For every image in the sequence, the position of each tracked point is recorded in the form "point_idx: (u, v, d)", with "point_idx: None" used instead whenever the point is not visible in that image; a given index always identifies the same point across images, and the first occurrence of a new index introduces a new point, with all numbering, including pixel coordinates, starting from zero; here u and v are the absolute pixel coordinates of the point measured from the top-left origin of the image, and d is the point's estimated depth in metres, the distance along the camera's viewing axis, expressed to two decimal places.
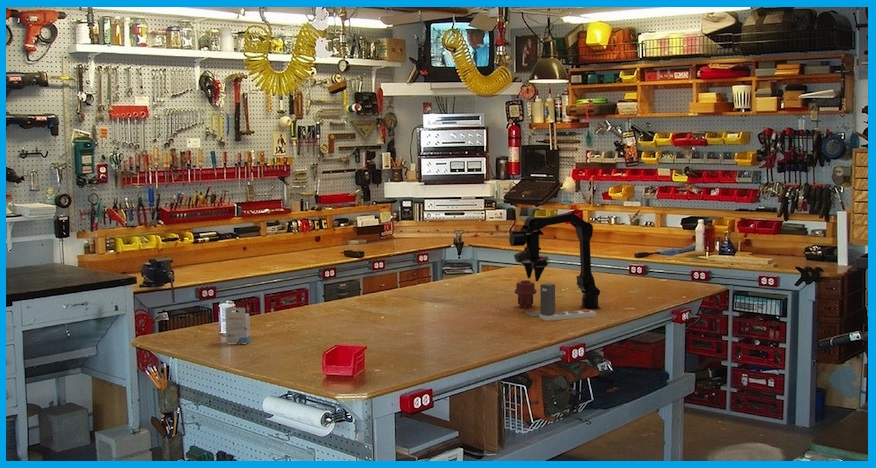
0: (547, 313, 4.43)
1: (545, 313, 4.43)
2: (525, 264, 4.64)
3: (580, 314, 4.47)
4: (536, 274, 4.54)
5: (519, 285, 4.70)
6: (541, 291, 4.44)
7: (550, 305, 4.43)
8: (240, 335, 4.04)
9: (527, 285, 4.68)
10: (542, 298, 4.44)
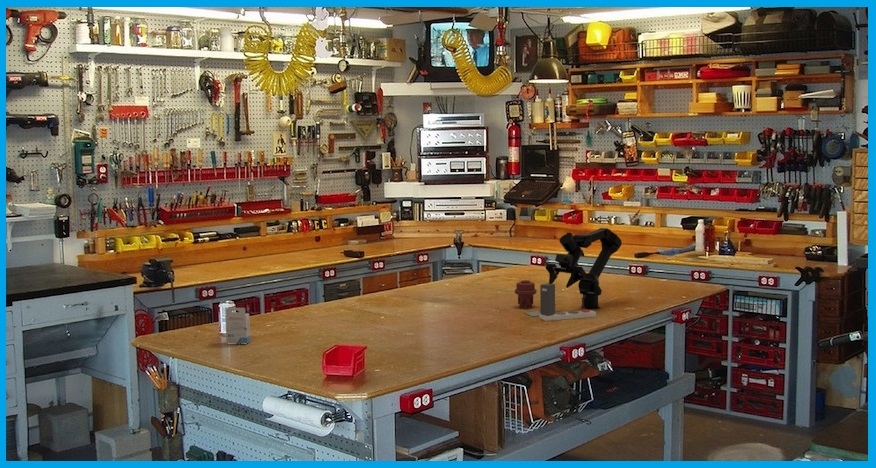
0: (547, 313, 4.43)
1: (545, 313, 4.43)
2: (553, 271, 4.55)
3: (580, 314, 4.47)
4: (571, 280, 4.48)
5: (519, 285, 4.70)
6: (541, 291, 4.44)
7: (550, 305, 4.43)
8: (240, 335, 4.04)
9: (527, 285, 4.68)
10: (542, 298, 4.44)
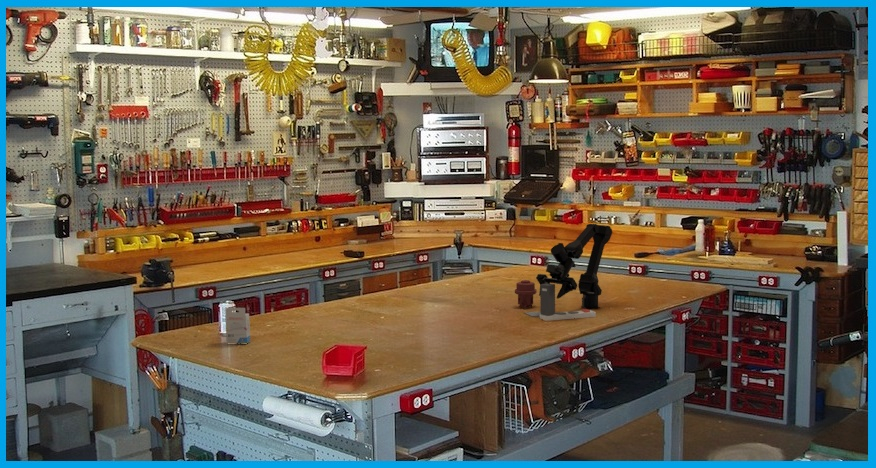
0: (547, 313, 4.43)
1: (545, 313, 4.43)
2: (543, 282, 4.50)
3: (580, 314, 4.47)
4: (562, 291, 4.43)
5: (519, 285, 4.70)
6: (541, 291, 4.44)
7: (550, 305, 4.43)
8: (240, 335, 4.04)
9: (527, 285, 4.68)
10: (542, 298, 4.44)
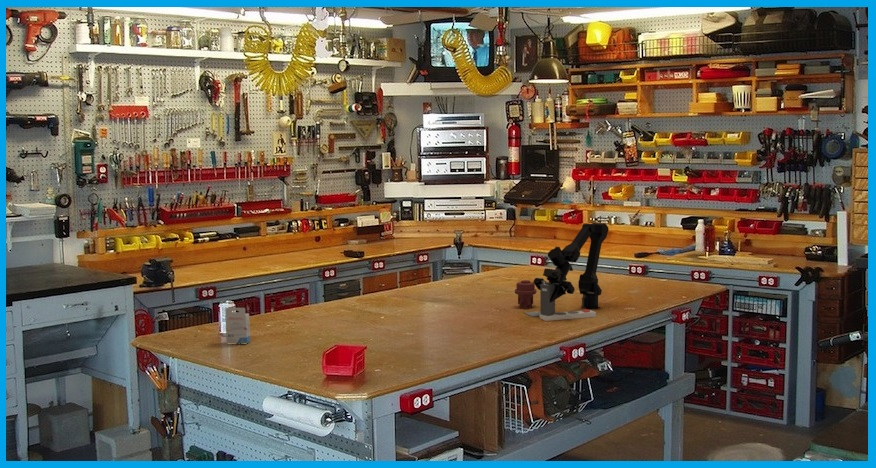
0: (547, 313, 4.43)
1: (545, 313, 4.43)
2: None
3: (580, 314, 4.47)
4: (555, 295, 4.43)
5: (519, 285, 4.70)
6: (541, 291, 4.44)
7: (550, 305, 4.43)
8: (240, 335, 4.04)
9: (527, 285, 4.68)
10: (542, 298, 4.44)
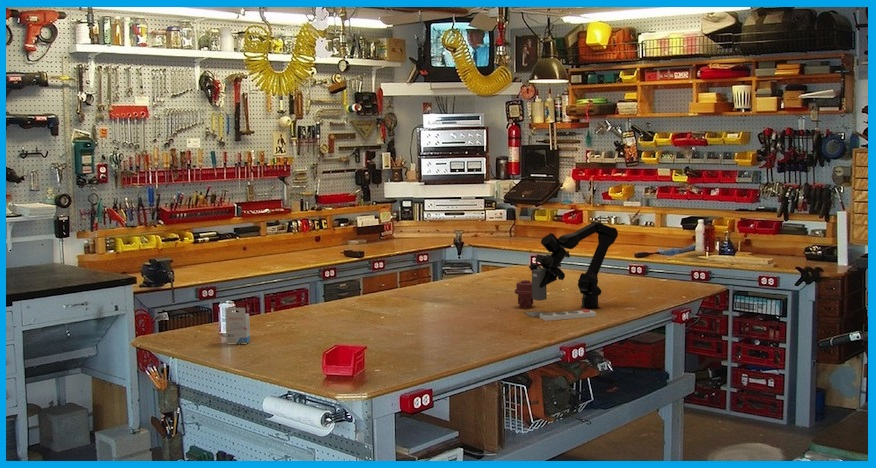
0: (537, 298, 4.50)
1: (535, 298, 4.51)
2: None
3: (580, 314, 4.47)
4: (545, 281, 4.49)
5: (519, 285, 4.70)
6: (532, 276, 4.51)
7: (540, 291, 4.50)
8: (240, 335, 4.04)
9: (527, 285, 4.68)
10: (533, 283, 4.51)
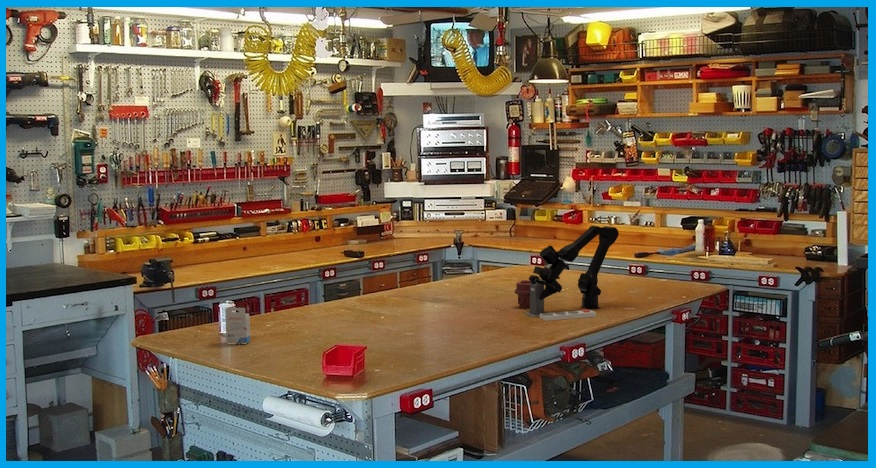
0: (534, 312, 4.54)
1: (533, 312, 4.54)
2: (534, 283, 4.60)
3: (580, 314, 4.47)
4: (544, 293, 4.51)
5: (519, 285, 4.70)
6: (530, 291, 4.55)
7: (537, 305, 4.53)
8: (240, 335, 4.04)
9: (527, 285, 4.68)
10: (531, 297, 4.55)
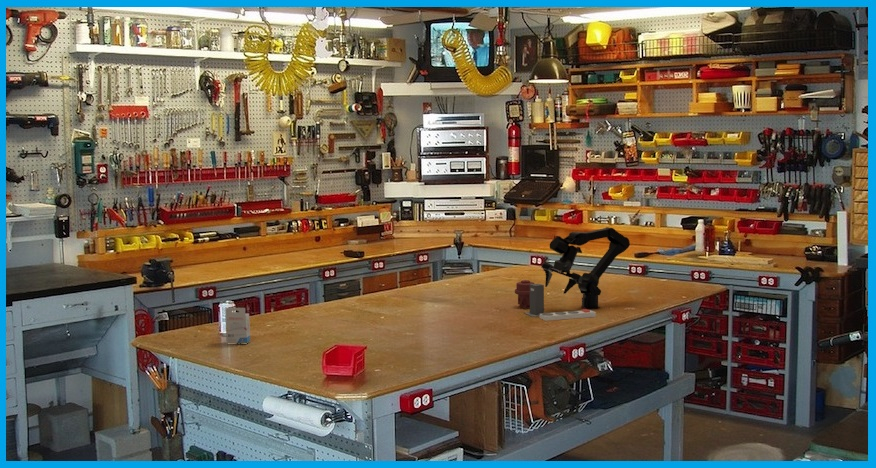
0: (534, 313, 4.54)
1: (533, 312, 4.54)
2: (549, 273, 4.62)
3: (580, 314, 4.47)
4: (568, 287, 4.57)
5: (519, 285, 4.70)
6: (530, 291, 4.55)
7: (537, 305, 4.53)
8: (240, 335, 4.04)
9: (527, 285, 4.68)
10: (531, 298, 4.55)
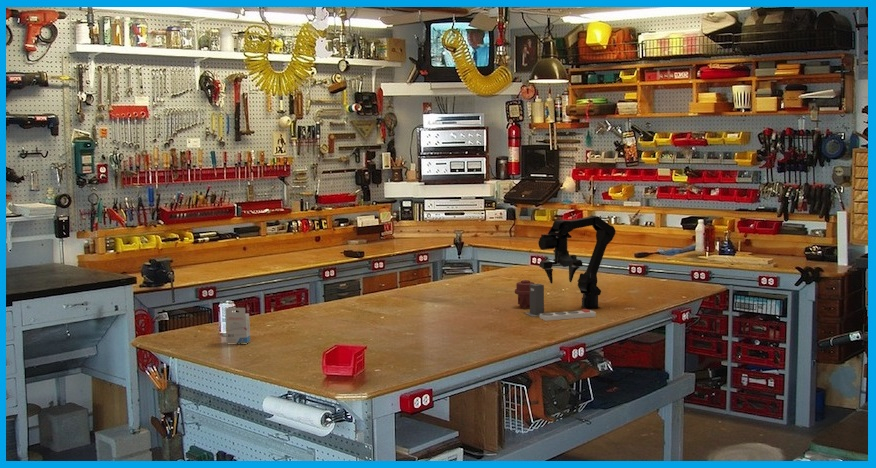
0: (534, 313, 4.54)
1: (533, 312, 4.54)
2: None
3: (580, 314, 4.47)
4: None
5: (519, 285, 4.70)
6: (530, 291, 4.55)
7: (537, 305, 4.53)
8: (240, 335, 4.04)
9: (527, 285, 4.68)
10: (531, 298, 4.55)
